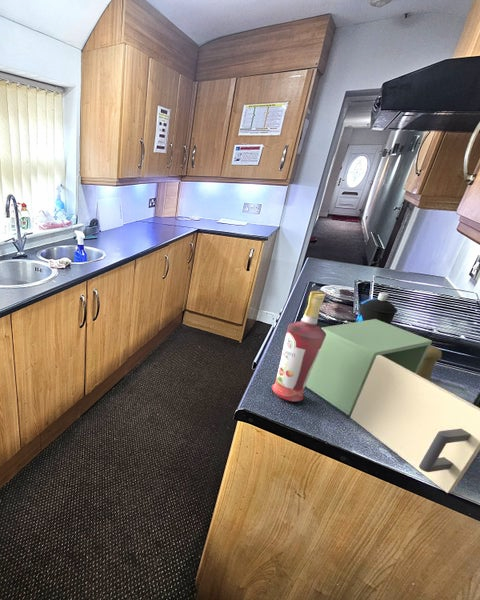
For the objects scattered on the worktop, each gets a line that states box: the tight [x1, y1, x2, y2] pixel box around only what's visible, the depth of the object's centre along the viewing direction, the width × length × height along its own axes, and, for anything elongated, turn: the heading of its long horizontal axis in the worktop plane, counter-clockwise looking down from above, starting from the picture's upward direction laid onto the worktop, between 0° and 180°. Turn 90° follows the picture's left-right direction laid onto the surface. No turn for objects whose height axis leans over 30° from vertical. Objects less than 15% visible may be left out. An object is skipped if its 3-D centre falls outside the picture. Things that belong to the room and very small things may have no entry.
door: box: [349, 355, 480, 494], centre depth 63 cm, size 6×19×17 cm, turn 9°
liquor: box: [271, 290, 326, 403], centre depth 76 cm, size 7×7×28 cm
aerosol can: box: [354, 291, 398, 325], centre depth 98 cm, size 8×8×20 cm
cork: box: [417, 344, 443, 382], centre depth 86 cm, size 6×6×11 cm
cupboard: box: [305, 319, 433, 416], centre depth 81 cm, size 12×19×17 cm, turn 107°
